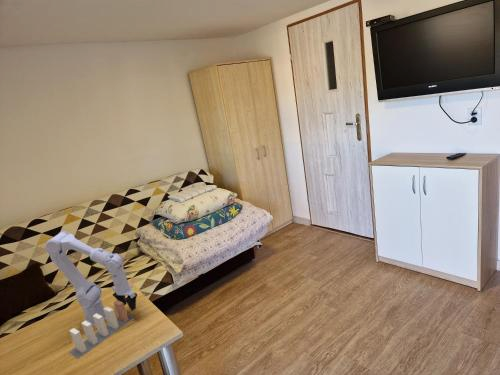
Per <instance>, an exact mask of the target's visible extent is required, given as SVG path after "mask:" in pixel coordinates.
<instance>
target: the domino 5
mask: <svg viewBox="0 0 500 375" xmlns="http://www.w3.org/2000/svg"><path fill="white" fill-rule="evenodd" d="M113 306H114V307H115V310H116V314H117V318H119V319H120V320H122V321H124V322H127V321H128V320H129V319H128V316H127V314H128V313H127V310H126V307H125V306H126V305H124V303H123V302H121V301H118V300H117V299H115V301H113Z"/></svg>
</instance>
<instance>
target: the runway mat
mask: <svg viewBox="0 0 500 375" xmlns="http://www.w3.org/2000/svg"><path fill="white" fill-rule="evenodd" d="M127 316H128V319H129V320H128V321H127V322H124V321H122V320H120V319H119V317H116V319H117V322H118V325H119V327H118V328H117V329H114V328H112V327H110V326H109V324H107V325H106V327H107V330H108V333H109V334H108V335H107V336H106V337H104V336H102V335H101V334H99V333H98V331H97V332H95V335H96V338H97V340H98V342H97V343H96V344H95V345H93V344H92V343H90V342H88V340H87V339H86V340H83V342H84V344H85V347H86V351H85V352H83V353H81V352H80V351H78V350H77V349H76V347H75V346H74V348H73V349H71V350H69V351H68V354H70V355H71V356H73V357H75V358H76V359H77V360H79V359H81V358H82V357H83V356H85V355H87V353H89V352H90V351H91V350H93V349H94V348H96V347H97V346H98V345H99V344H101V343H102V342H104V341H105V340H106V339H108V338H109V337H111V336H112V335H113V334H115V333H116V332H118V331H119V330H120V329H121V328H123V327H125V326H126V325H128V323H130V322H131V321H133V320H134V319H135V318H136V316H134V315H132V314H129V313H127Z"/></svg>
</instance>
